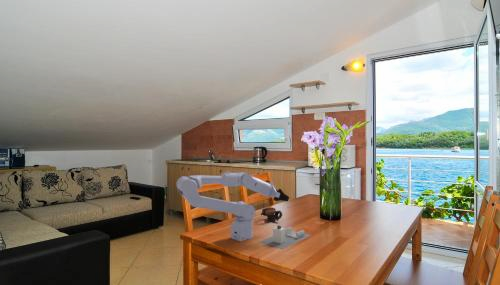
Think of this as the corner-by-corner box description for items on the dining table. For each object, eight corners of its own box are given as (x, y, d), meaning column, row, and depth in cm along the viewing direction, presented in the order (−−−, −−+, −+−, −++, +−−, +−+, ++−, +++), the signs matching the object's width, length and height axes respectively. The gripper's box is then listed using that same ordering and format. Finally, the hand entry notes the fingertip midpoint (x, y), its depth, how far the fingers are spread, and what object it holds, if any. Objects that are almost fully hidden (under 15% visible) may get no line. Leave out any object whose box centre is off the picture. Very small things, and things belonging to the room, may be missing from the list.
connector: (280, 243, 121) (280, 227, 121) (273, 241, 124) (273, 225, 124) (285, 241, 123) (285, 226, 123) (277, 239, 126) (277, 224, 126)
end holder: (297, 238, 127) (297, 233, 127) (282, 235, 132) (282, 229, 132) (305, 235, 132) (305, 229, 132) (290, 231, 137) (290, 226, 137)
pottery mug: (258, 224, 154) (257, 208, 158) (265, 227, 161) (264, 212, 165) (280, 220, 150) (279, 204, 154) (286, 224, 157) (284, 209, 161)
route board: (282, 251, 115) (282, 249, 115) (258, 244, 123) (258, 241, 123) (311, 237, 131) (311, 235, 131) (288, 231, 140) (288, 229, 139)
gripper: (271, 182, 127) (295, 193, 132) (257, 175, 140) (279, 185, 146) (265, 197, 126) (289, 207, 132) (251, 189, 139) (273, 198, 145)
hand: (283, 196), depth 139 cm, fingers open, 7 cm apart
